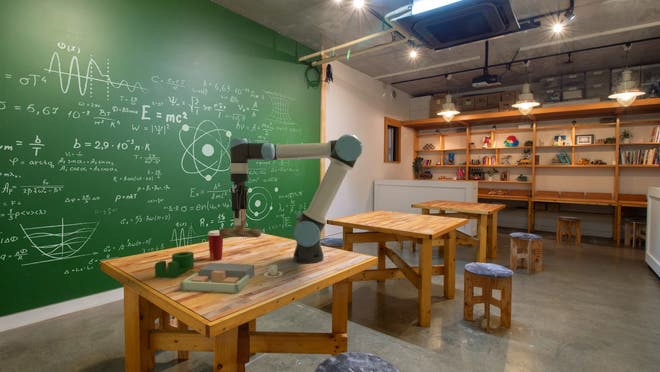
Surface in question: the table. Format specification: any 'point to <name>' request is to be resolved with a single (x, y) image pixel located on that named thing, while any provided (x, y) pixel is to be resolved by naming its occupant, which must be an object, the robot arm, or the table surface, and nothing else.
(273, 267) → the teacup and saucer
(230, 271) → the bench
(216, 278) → the tile
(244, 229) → the scraper
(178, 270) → the green bracket
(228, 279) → the tile
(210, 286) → the tray
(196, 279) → the tile
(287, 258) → the table surface
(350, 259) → the table surface
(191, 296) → the table surface
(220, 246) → the paper cup
